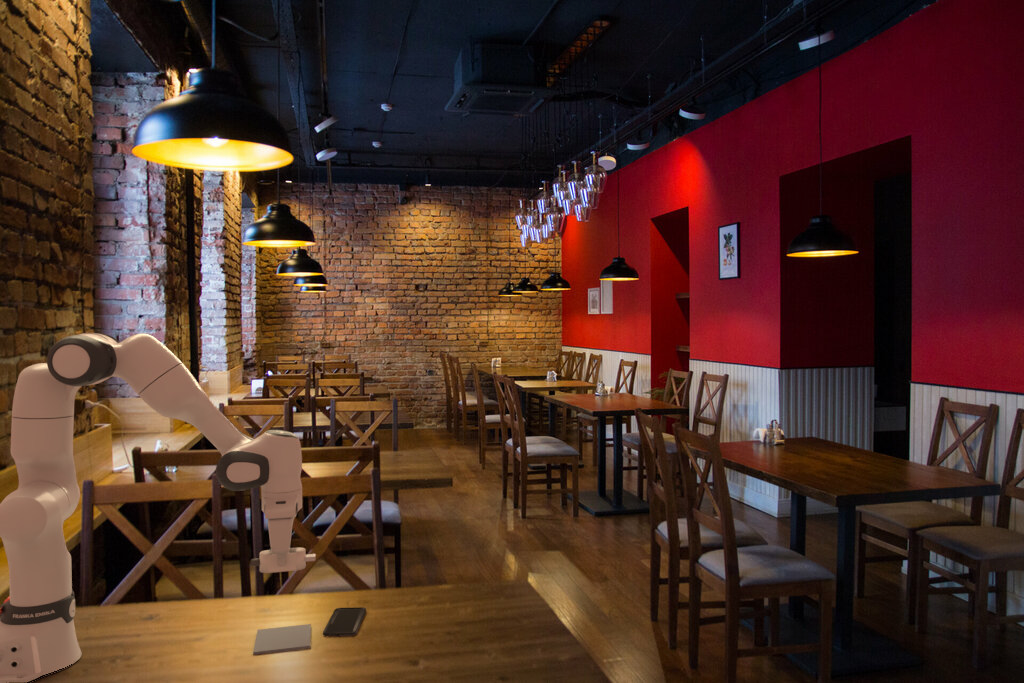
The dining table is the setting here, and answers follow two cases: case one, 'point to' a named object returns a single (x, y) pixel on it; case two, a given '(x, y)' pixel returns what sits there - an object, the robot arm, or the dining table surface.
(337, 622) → the phone
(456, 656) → the dining table surface
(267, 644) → the pad
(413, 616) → the dining table surface
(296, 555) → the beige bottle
